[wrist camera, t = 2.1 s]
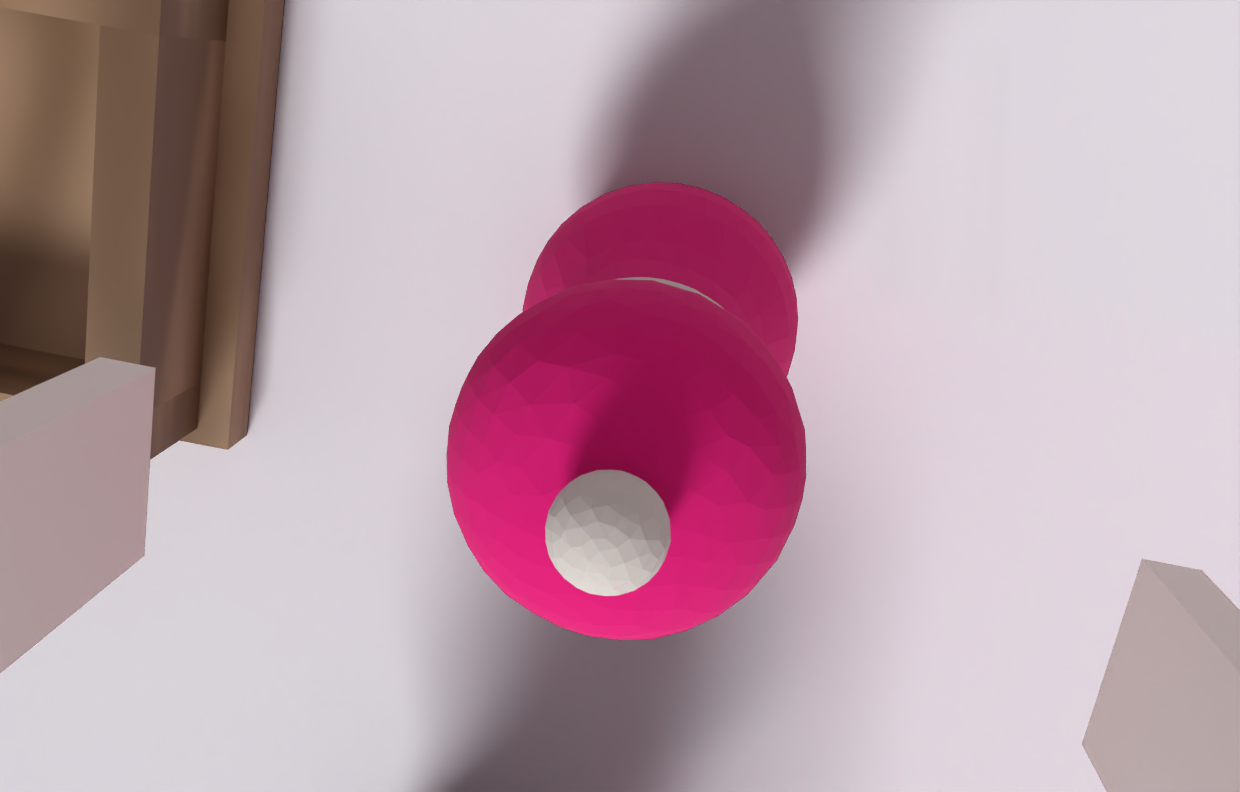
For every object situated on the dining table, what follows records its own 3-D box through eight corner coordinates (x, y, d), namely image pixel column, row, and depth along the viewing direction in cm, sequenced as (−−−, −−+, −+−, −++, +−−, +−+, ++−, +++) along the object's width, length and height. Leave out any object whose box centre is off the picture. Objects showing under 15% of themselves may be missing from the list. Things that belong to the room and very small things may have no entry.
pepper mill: (591, 135, 34) (420, 208, 14) (825, 218, 34) (966, 402, 14) (517, 362, 36) (279, 693, 16) (738, 441, 36) (760, 862, 16)
